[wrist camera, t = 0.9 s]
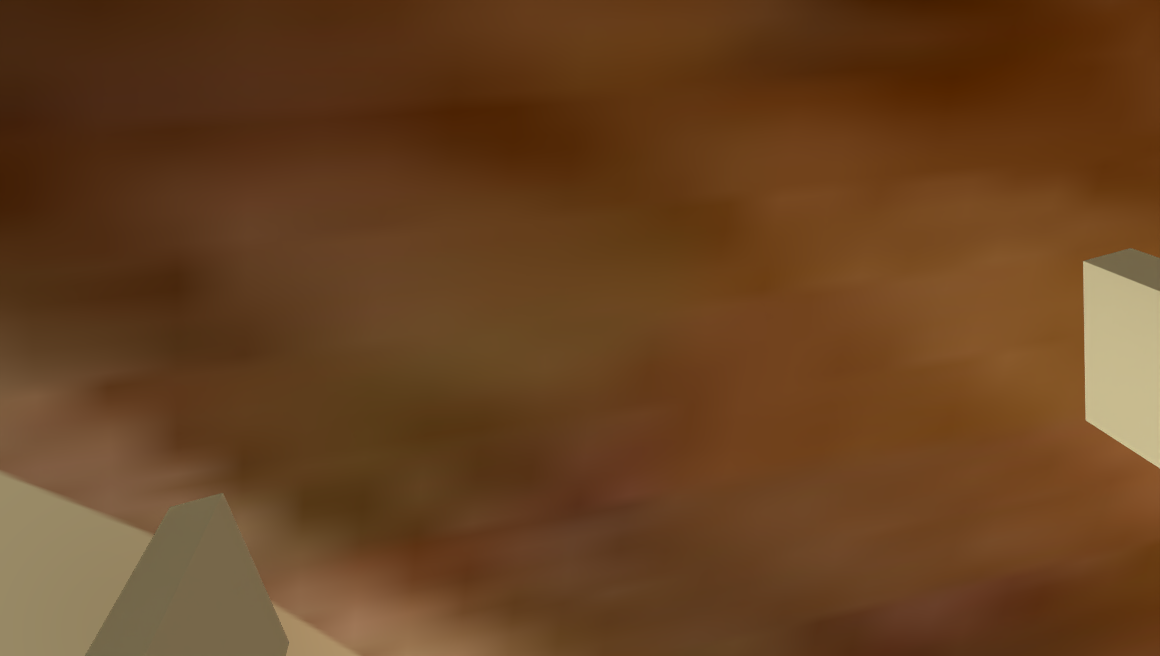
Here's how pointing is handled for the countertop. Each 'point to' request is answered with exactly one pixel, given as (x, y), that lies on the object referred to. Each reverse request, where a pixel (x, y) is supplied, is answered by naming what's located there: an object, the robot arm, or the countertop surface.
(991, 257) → the countertop surface
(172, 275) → the countertop surface
